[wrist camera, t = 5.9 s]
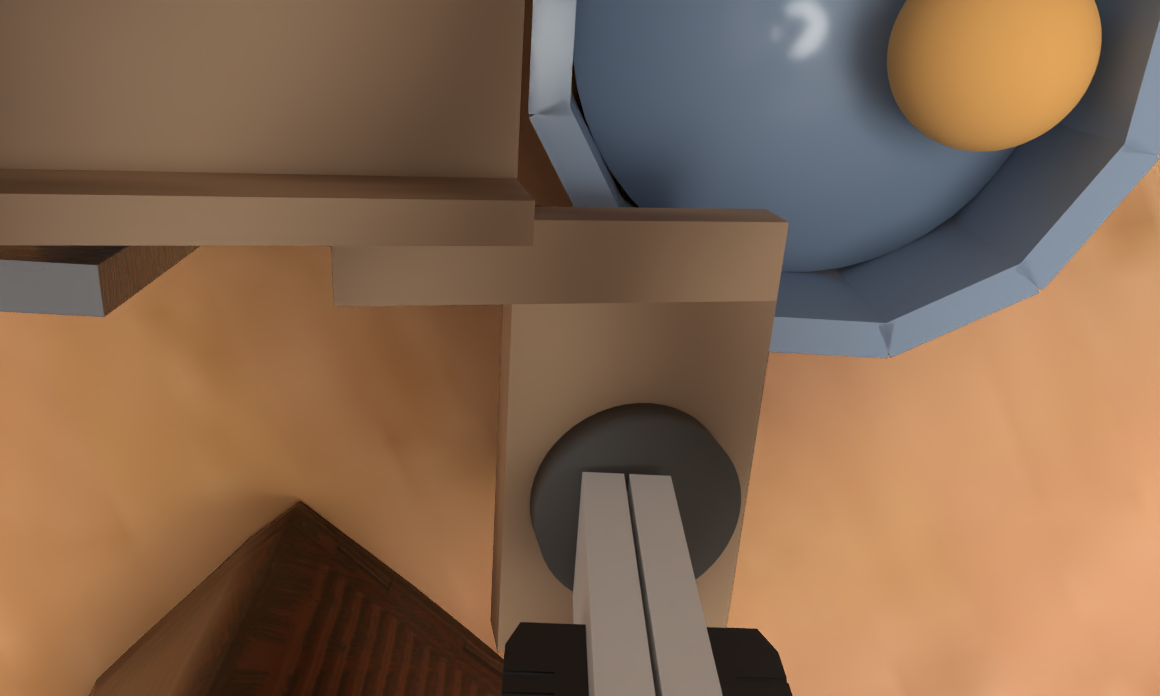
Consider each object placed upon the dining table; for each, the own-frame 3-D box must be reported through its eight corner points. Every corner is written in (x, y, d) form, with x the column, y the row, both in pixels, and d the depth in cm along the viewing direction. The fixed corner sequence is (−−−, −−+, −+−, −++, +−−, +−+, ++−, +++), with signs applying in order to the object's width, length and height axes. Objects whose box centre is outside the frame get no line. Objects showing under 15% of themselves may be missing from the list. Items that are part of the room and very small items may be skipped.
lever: (-504, 715, 16) (-757, 938, 12) (-1006, -350, 10) (-1750, -523, 7) (709, 599, 21) (785, 731, 17) (817, -146, 15) (961, -179, 12)
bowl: (552, -316, 19) (550, -390, 15) (1159, -264, 19) (1303, -323, 15) (524, 280, 23) (518, 338, 19) (1013, 308, 24) (1096, 369, 20)
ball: (870, -60, 20) (985, -66, 16) (1034, -46, 20) (1178, -48, 17) (838, 131, 21) (936, 166, 17) (993, 137, 22) (1116, 171, 18)
